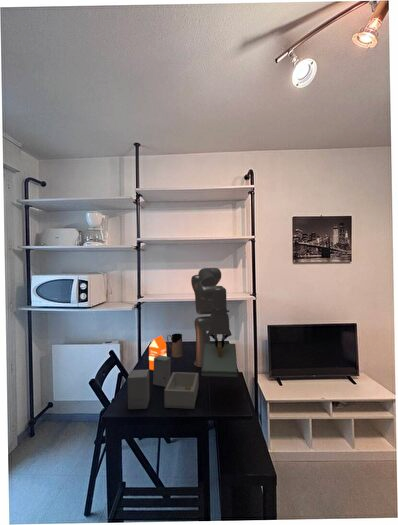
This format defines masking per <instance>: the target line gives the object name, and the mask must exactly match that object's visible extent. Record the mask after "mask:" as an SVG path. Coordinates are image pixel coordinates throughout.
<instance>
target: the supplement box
mask: <svg viewBox="0 0 398 525" xmlns="http://www.w3.org/2000/svg"><path fill="white" fill-rule="evenodd" d="M150 389H151V388H150V369H131V371H130V373H129V375H128V377H127V409H128V410H143V409H144V410H146V409H147V408H148V406H149V402H150V399H151V397H150V396H151V395H150V391H151V390H150Z"/></svg>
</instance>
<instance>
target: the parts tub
mask: <svg viewBox="0 0 398 525" xmlns="http://www.w3.org/2000/svg"><path fill="white" fill-rule="evenodd" d="M199 387H200V386H199V372H183V371H182V372H181V371H180V372H179V371H175V372H174V371H173V372H172V373H171V374H170V380H169V382H168V384H167V386H166V387H164V408H167V409H168V408H169V409H170V408H171V409H188V410H189V409H190V410H191V409H192V410H195V407H196V403H197V402H196V401H197V396H198V393H199Z"/></svg>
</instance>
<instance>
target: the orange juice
mask: <svg viewBox="0 0 398 525" xmlns="http://www.w3.org/2000/svg"><path fill="white" fill-rule="evenodd" d="M158 355H161V356H166V357H168V356H167V343H166V341H165V339H164V337H163V336H162V335H159V336H157V337H155V338H153V340H152V342H151V343H150V344H149V346H148V362H149V363H148V365H149V369H148V370H149V371H150V370H151V371H153V370H154V358H155V357H157V356H158Z"/></svg>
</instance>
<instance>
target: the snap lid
mask: <svg viewBox="0 0 398 525" xmlns="http://www.w3.org/2000/svg"><path fill="white" fill-rule="evenodd" d="M237 360H238V359H237V347H236V343H224V346H223V349H222V343H221V340H218V348H216V346H215V342H214V343H212V342H210V343H205V346H204V354H203V362H202V367H201V370H200V371H201V372H200V373H201V374H200V375H201V377H221V378H222V377H223V378H224V377H226V378H227V377H228V378H238V362H237Z"/></svg>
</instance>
